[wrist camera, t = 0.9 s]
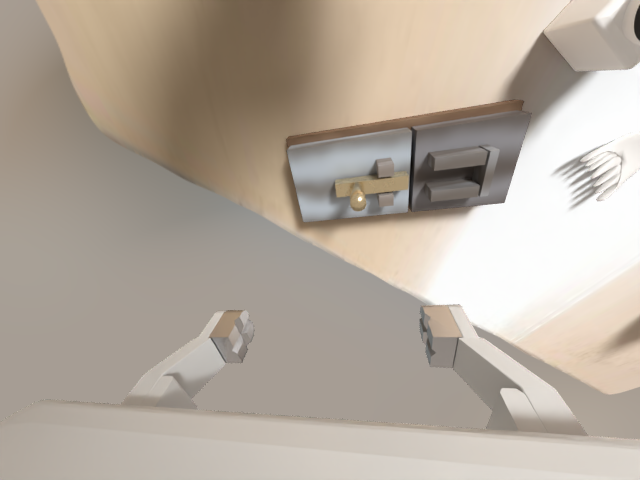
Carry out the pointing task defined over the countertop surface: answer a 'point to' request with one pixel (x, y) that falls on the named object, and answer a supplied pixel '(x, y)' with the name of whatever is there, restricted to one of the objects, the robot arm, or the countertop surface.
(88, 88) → the countertop surface
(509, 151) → the sliding barrel latch
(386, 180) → the bolt
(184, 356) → the robot arm
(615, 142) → the white fork
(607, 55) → the medicine bottle
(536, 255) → the countertop surface
